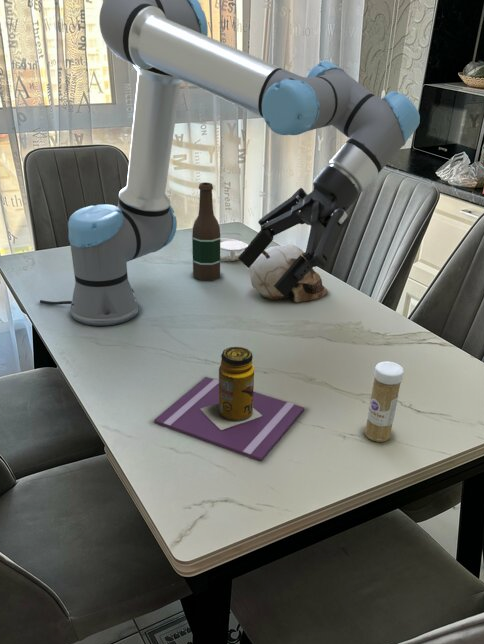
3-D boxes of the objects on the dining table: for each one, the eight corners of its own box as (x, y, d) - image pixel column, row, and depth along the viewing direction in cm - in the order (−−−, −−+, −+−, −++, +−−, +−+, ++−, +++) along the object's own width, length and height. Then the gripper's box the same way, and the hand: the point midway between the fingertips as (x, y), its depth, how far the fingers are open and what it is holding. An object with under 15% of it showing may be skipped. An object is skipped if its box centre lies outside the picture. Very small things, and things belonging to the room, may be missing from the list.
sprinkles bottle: (359, 435, 103) (369, 367, 96) (372, 424, 106) (384, 357, 99) (382, 446, 101) (395, 377, 93) (395, 434, 104) (409, 366, 96)
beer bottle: (225, 273, 164) (226, 181, 151) (214, 283, 158) (214, 189, 144) (199, 268, 166) (197, 178, 153) (187, 278, 160) (184, 185, 146)
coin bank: (332, 291, 155) (333, 241, 147) (292, 319, 145) (290, 267, 137) (284, 277, 163) (282, 229, 155) (242, 302, 153) (238, 252, 145)
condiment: (262, 416, 106) (265, 356, 99) (221, 431, 102) (221, 370, 95) (240, 397, 111) (241, 339, 104) (200, 410, 107) (198, 351, 100)
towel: (154, 422, 104) (153, 419, 104) (205, 379, 117) (205, 376, 117) (261, 461, 96) (261, 458, 96) (304, 410, 109) (304, 407, 109)
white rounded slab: (238, 225, 185) (265, 246, 170) (238, 239, 188) (265, 261, 172) (185, 230, 180) (209, 252, 164) (186, 244, 182) (209, 268, 166)
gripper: (400, 214, 94) (309, 317, 97) (316, 177, 113) (242, 264, 115) (378, 182, 89) (283, 291, 92) (294, 148, 108) (217, 240, 110)
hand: (260, 276), depth 103 cm, fingers open, 13 cm apart
